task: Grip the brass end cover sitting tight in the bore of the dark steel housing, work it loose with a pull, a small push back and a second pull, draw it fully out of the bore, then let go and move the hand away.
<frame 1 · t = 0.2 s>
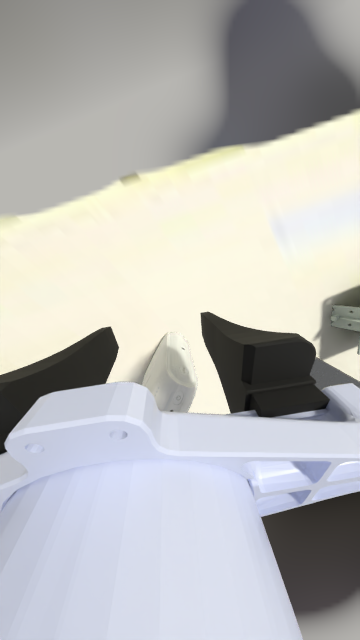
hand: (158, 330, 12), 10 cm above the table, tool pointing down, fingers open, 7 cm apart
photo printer: (165, 357, 25), on the table
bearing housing: (300, 397, 29), on the table
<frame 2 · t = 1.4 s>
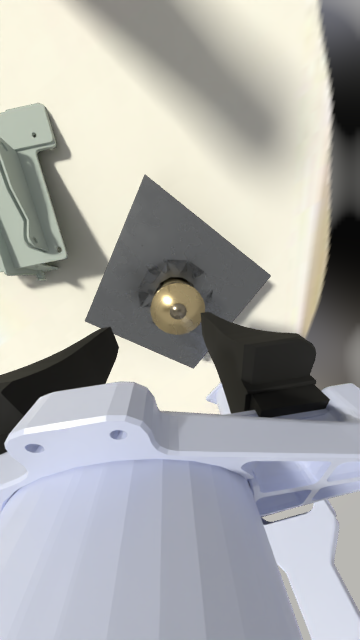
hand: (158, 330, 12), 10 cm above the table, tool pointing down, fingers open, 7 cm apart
metal bracket: (15, 210, 16), on the table
end cover: (176, 300, 17), point 4 cm above the table, slide at 0.0 cm
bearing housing: (174, 291, 21), on the table
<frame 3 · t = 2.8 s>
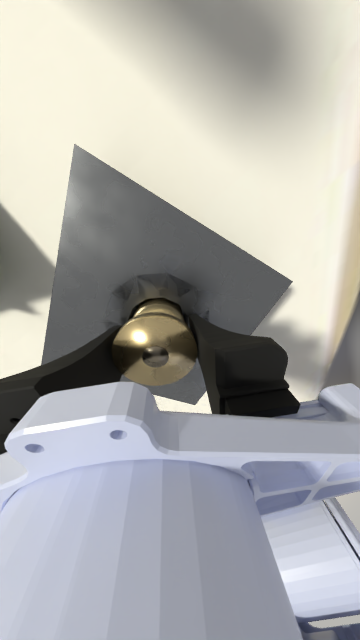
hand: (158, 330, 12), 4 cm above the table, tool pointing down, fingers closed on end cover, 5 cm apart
end cover: (158, 329, 12), point 4 cm above the table, slide at 0.0 cm, touching gripper
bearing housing: (160, 310, 16), on the table
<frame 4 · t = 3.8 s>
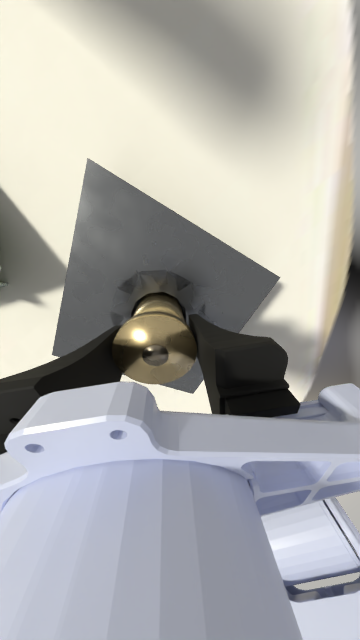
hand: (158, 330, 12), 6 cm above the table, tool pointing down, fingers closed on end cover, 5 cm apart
end cover: (158, 328, 12), point 5 cm above the table, slide at 1.4 cm, touching gripper
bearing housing: (160, 305, 17), on the table
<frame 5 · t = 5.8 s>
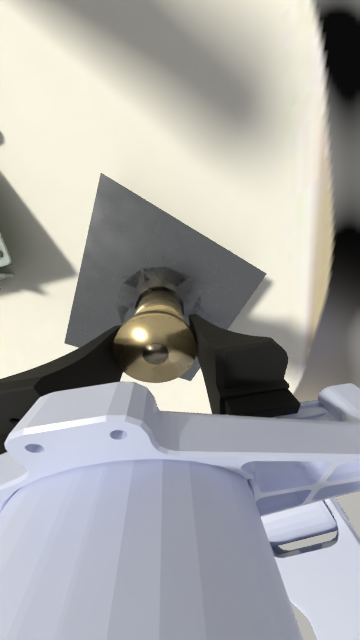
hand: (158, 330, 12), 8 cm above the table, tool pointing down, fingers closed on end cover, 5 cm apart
end cover: (158, 327, 12), point 7 cm above the table, slide at 3.2 cm, touching gripper
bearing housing: (161, 299, 19), on the table
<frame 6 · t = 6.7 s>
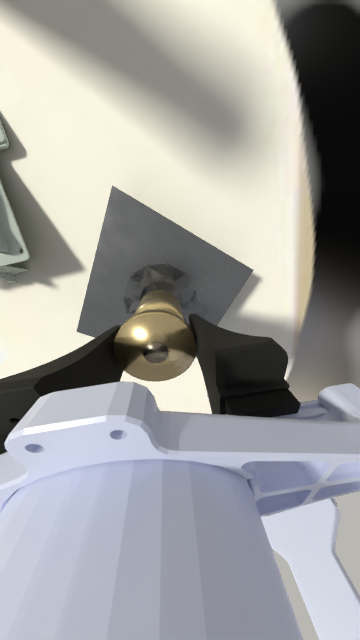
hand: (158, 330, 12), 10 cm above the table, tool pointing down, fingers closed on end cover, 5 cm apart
end cover: (158, 326, 12), point 10 cm above the table, slide at 5.6 cm, touching gripper
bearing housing: (161, 293, 21), on the table
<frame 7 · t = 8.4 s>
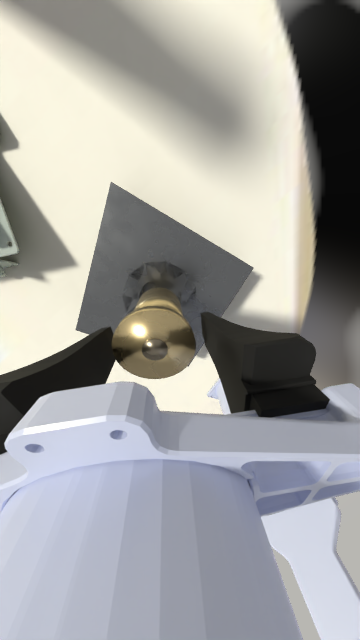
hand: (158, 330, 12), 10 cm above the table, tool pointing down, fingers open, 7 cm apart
end cover: (157, 324, 12), point 10 cm above the table, slide at 5.6 cm
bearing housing: (161, 292, 21), on the table
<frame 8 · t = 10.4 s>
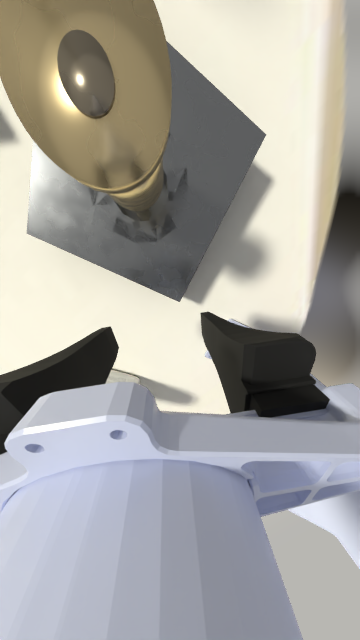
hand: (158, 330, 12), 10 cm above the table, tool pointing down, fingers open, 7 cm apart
end cover: (119, 144, 8), point 10 cm above the table, slide at 5.6 cm
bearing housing: (144, 198, 16), on the table
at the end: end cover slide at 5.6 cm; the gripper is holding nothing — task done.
